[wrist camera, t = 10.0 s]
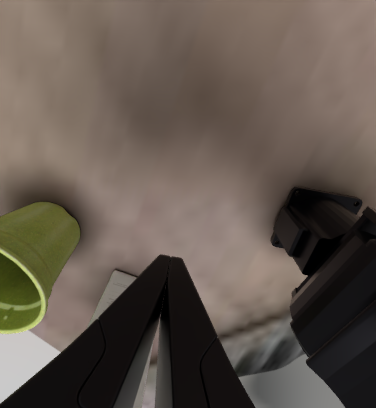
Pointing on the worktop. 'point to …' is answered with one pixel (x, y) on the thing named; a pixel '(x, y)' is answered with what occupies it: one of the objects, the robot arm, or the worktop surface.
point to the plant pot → (32, 261)
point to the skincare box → (110, 294)
